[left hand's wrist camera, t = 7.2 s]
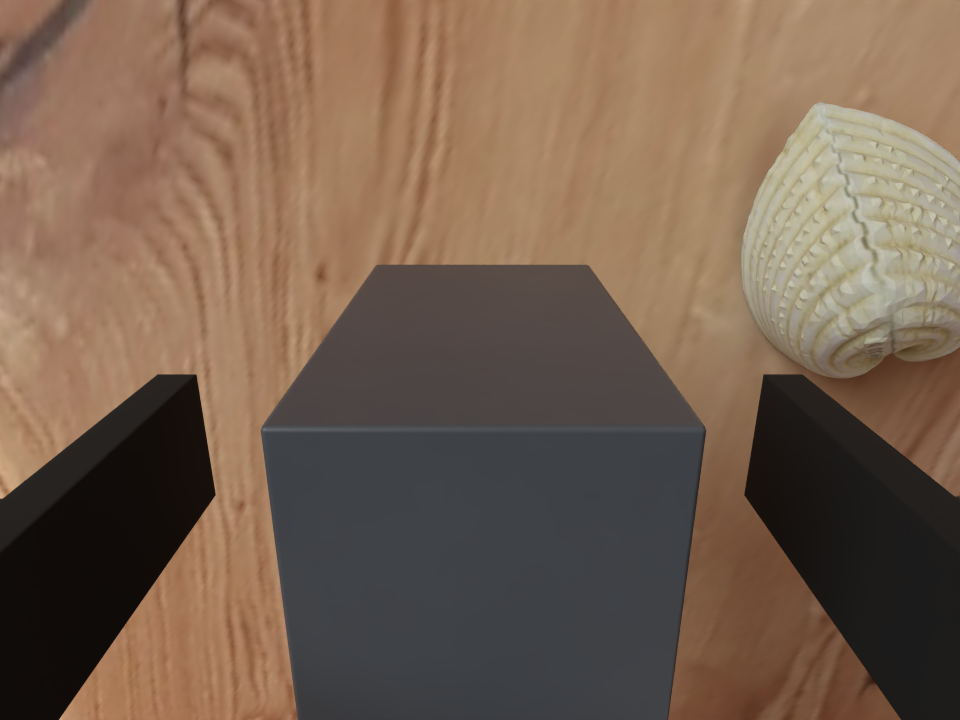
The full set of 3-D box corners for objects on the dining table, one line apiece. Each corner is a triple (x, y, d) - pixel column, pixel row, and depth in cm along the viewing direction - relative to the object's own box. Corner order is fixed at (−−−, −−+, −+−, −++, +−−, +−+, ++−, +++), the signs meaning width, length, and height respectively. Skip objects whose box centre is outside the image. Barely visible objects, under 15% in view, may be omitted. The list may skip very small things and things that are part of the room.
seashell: (777, 438, 25) (726, 329, 20) (750, 267, 30) (702, 138, 24) (1044, 402, 21) (1076, 254, 16) (967, 211, 26) (971, 43, 20)
